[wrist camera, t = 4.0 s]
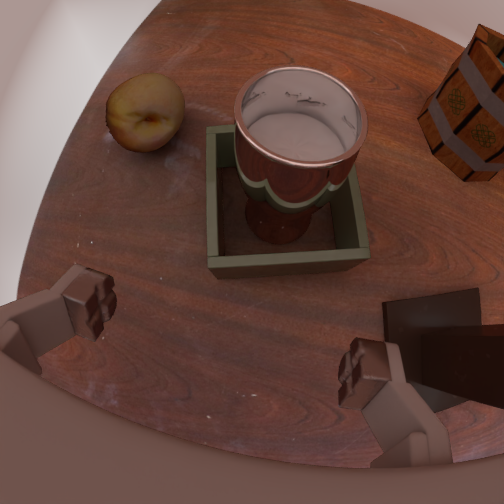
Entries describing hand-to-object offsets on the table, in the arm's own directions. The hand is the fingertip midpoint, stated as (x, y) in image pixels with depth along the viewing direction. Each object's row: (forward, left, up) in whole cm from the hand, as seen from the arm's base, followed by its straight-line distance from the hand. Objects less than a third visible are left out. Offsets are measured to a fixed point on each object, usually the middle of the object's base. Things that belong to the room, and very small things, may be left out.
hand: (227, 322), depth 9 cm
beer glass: (+4, +9, -17) cm, 20 cm away
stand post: (+19, -6, -17) cm, 26 cm away
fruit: (-8, +19, -17) cm, 27 cm away
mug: (+32, +18, -17) cm, 40 cm away
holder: (+4, +9, -17) cm, 19 cm away
